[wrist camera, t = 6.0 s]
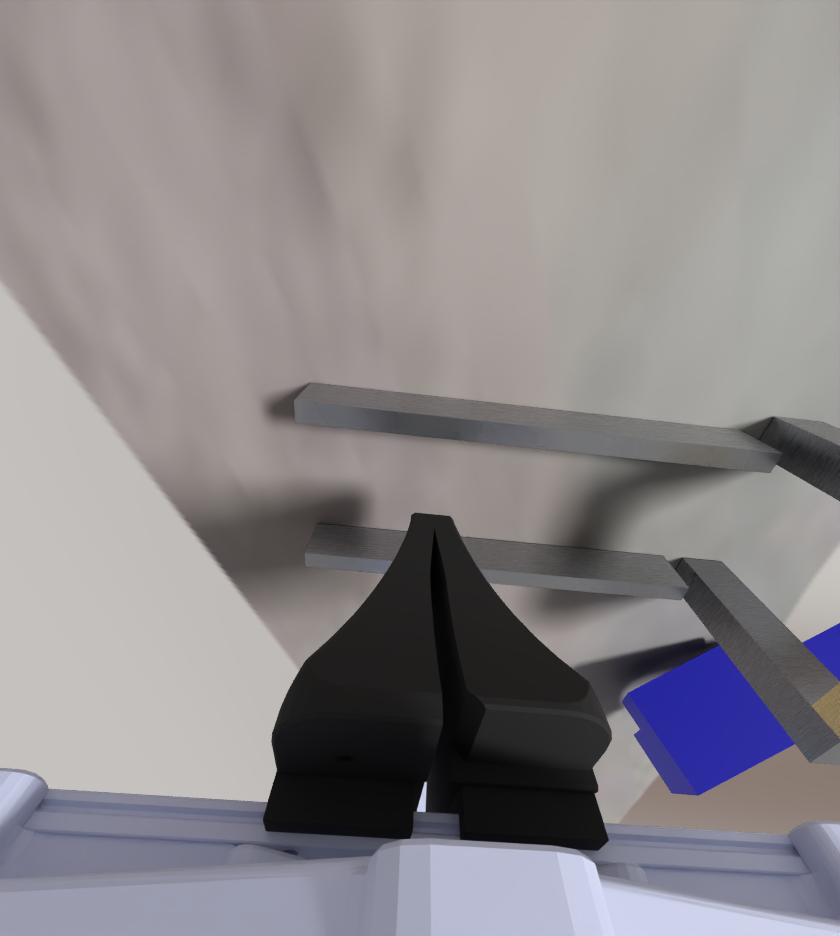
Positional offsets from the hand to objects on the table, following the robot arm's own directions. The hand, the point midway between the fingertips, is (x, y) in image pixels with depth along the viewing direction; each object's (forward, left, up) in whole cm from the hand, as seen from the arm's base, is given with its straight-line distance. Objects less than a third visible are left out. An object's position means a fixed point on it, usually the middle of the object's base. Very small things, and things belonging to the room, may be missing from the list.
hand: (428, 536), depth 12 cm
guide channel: (0, -4, -4) cm, 5 cm away
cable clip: (-9, -18, -1) cm, 20 cm away
